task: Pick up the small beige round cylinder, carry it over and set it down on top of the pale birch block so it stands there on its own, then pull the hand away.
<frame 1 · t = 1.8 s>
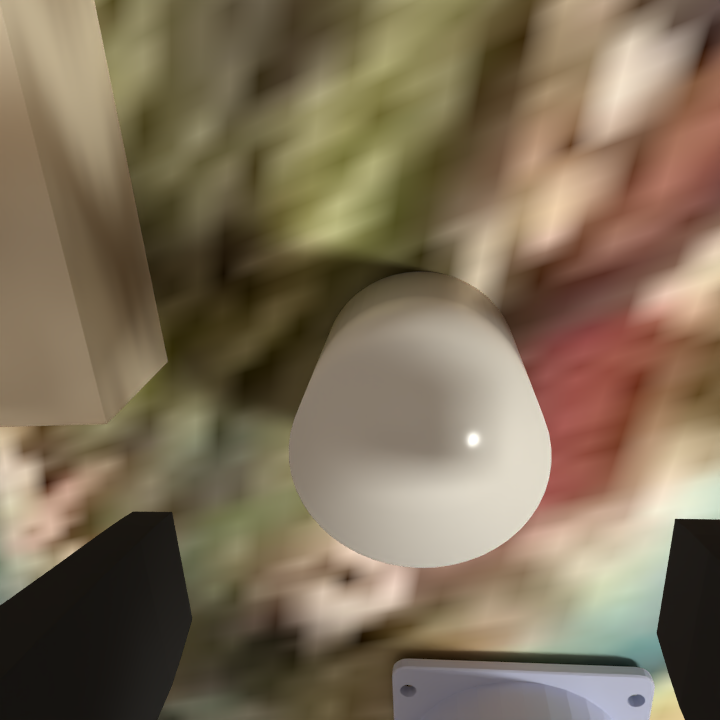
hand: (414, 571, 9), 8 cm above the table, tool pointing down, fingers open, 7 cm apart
beige round cylinder: (419, 363, 17), on the table
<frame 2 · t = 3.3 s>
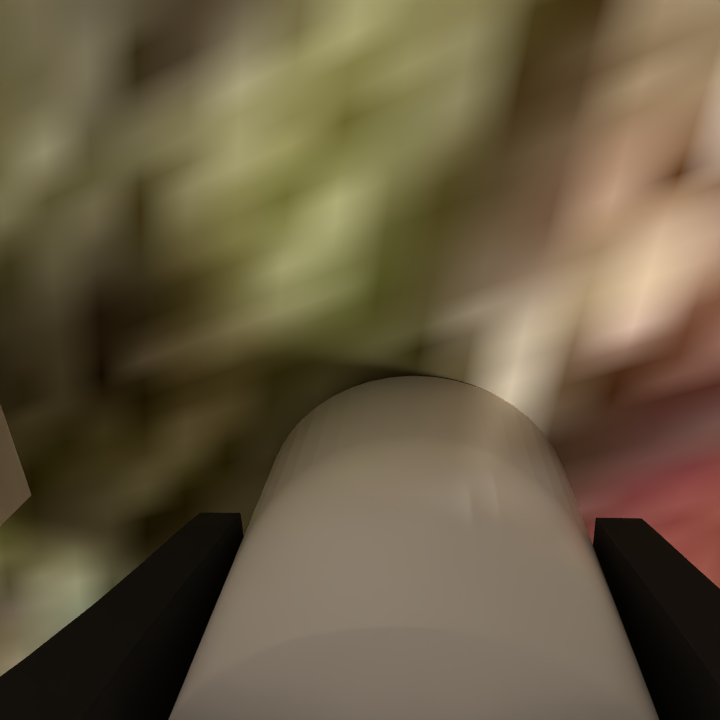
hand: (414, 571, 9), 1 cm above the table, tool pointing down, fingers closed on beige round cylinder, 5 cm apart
beige round cylinder: (415, 513, 11), on the table, touching gripper
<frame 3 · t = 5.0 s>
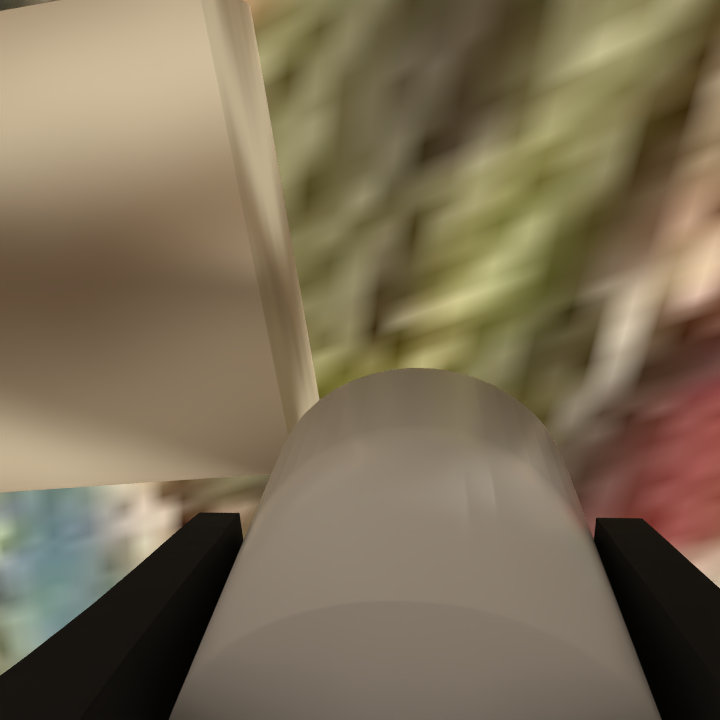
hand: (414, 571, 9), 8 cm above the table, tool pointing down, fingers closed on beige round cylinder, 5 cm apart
beige round cylinder: (418, 503, 11), point 7 cm above the table, touching gripper
block: (111, 245, 17), on the table
when the fingers open (6 cm above the table, at t = 6.9 s): beige round cylinder drops 1 cm, point 4 cm above the table.
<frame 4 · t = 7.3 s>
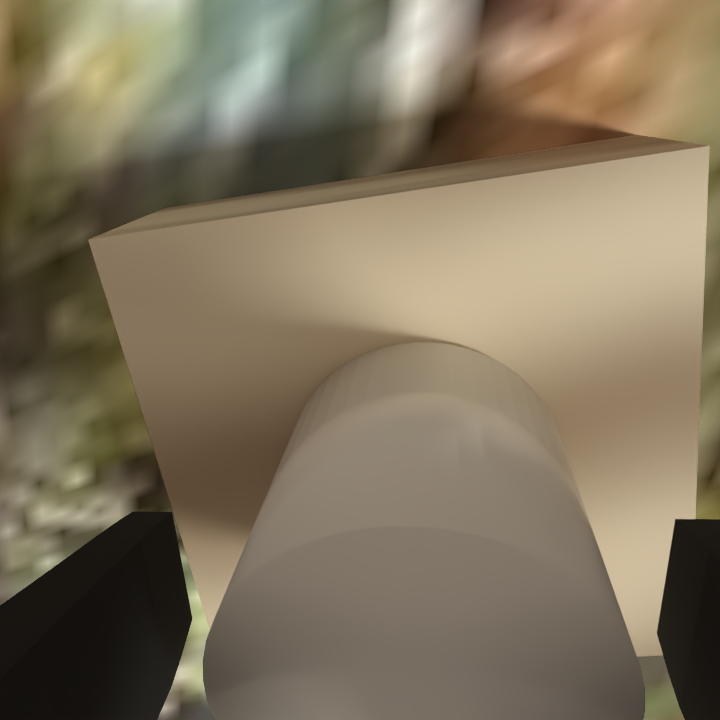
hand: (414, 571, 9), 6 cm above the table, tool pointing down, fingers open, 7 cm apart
beige round cylinder: (424, 467, 12), point 4 cm above the table
block: (417, 379, 16), on the table
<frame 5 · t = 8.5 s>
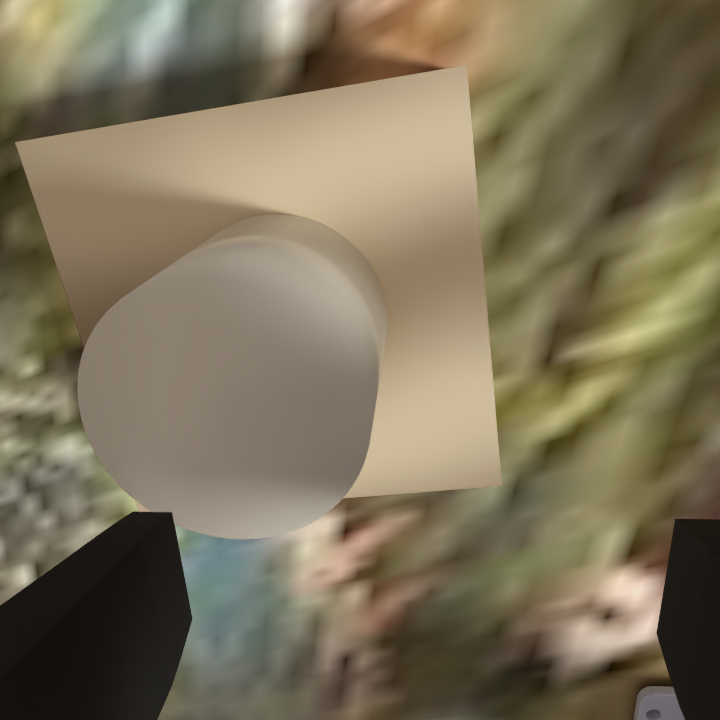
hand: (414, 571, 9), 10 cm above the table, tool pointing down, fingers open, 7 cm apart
beige round cylinder: (283, 319, 15), point 3 cm above the table, touching block
block: (304, 282, 19), on the table, touching beige round cylinder
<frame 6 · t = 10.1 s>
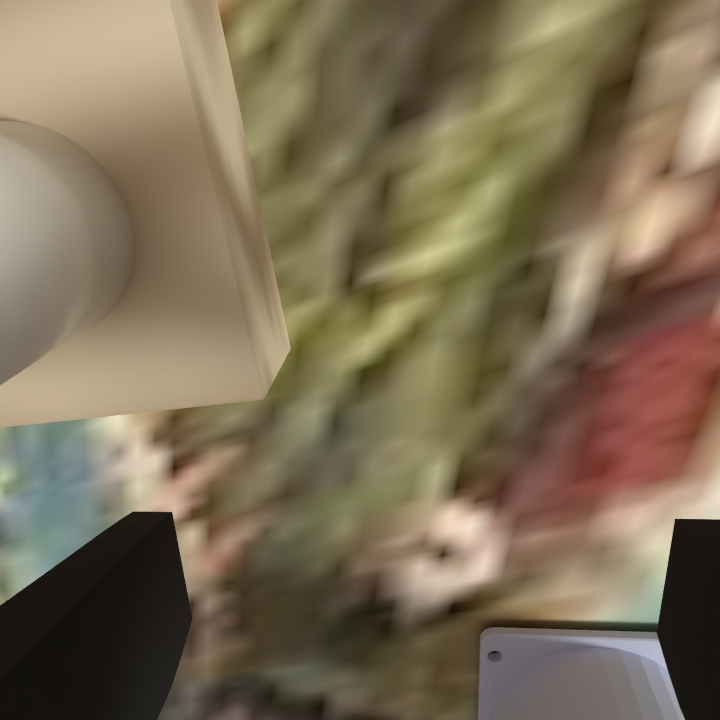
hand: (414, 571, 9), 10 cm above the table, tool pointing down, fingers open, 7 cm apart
beige round cylinder: (29, 234, 15), point 4 cm above the table, touching block
block: (96, 206, 19), on the table, touching beige round cylinder
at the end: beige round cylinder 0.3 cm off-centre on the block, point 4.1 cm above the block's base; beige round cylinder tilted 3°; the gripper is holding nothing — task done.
